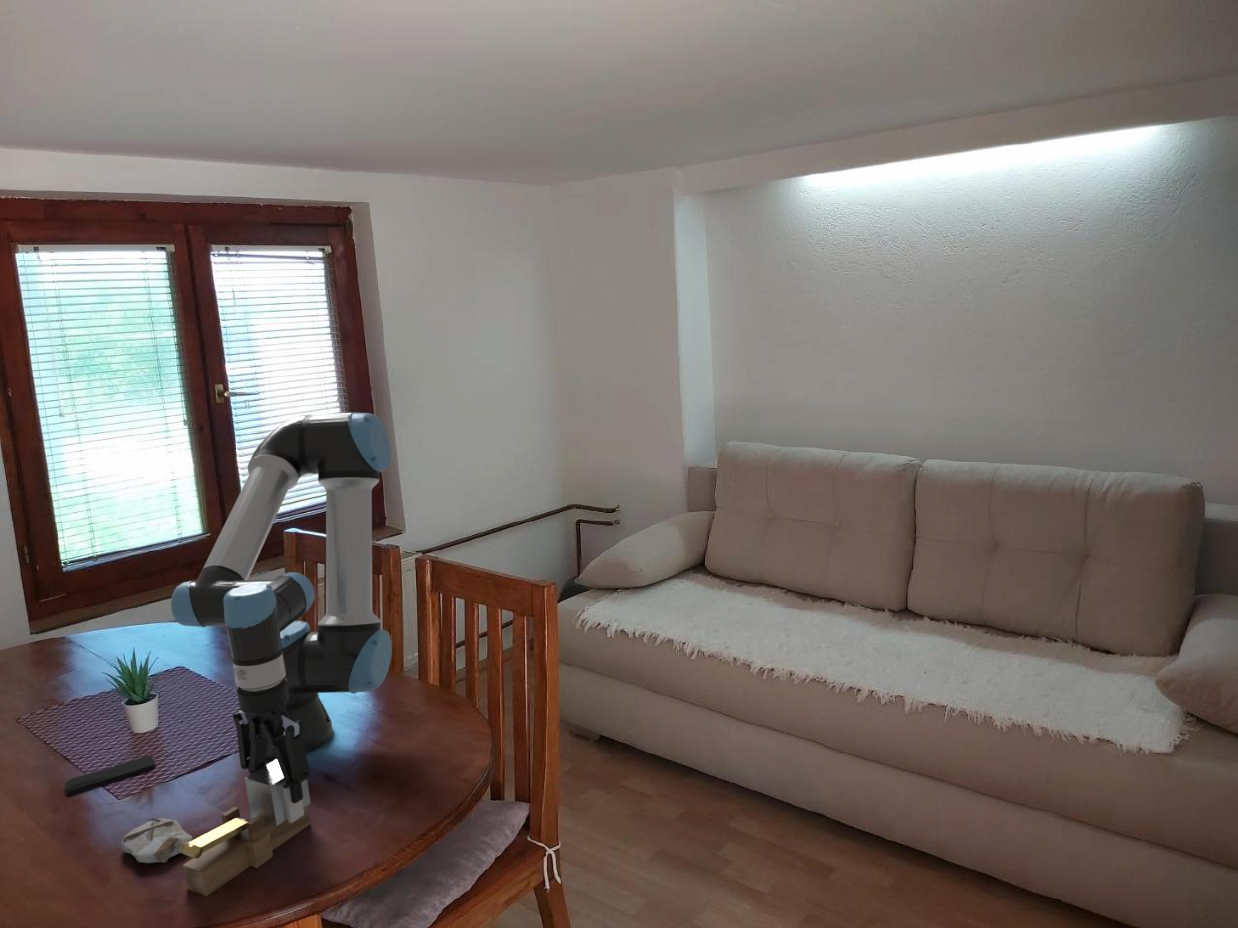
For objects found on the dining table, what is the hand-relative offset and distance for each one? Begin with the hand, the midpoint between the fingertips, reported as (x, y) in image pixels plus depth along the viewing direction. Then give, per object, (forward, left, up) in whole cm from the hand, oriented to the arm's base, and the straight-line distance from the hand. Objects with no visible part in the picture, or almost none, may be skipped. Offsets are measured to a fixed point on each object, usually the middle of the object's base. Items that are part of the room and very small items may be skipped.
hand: (281, 813), depth 151 cm
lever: (0, -7, +3) cm, 7 cm away
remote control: (-46, 0, -4) cm, 46 cm away
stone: (-17, -11, -4) cm, 20 cm away
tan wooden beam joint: (0, -6, -3) cm, 7 cm away
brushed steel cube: (0, 0, +1) cm, 1 cm away
